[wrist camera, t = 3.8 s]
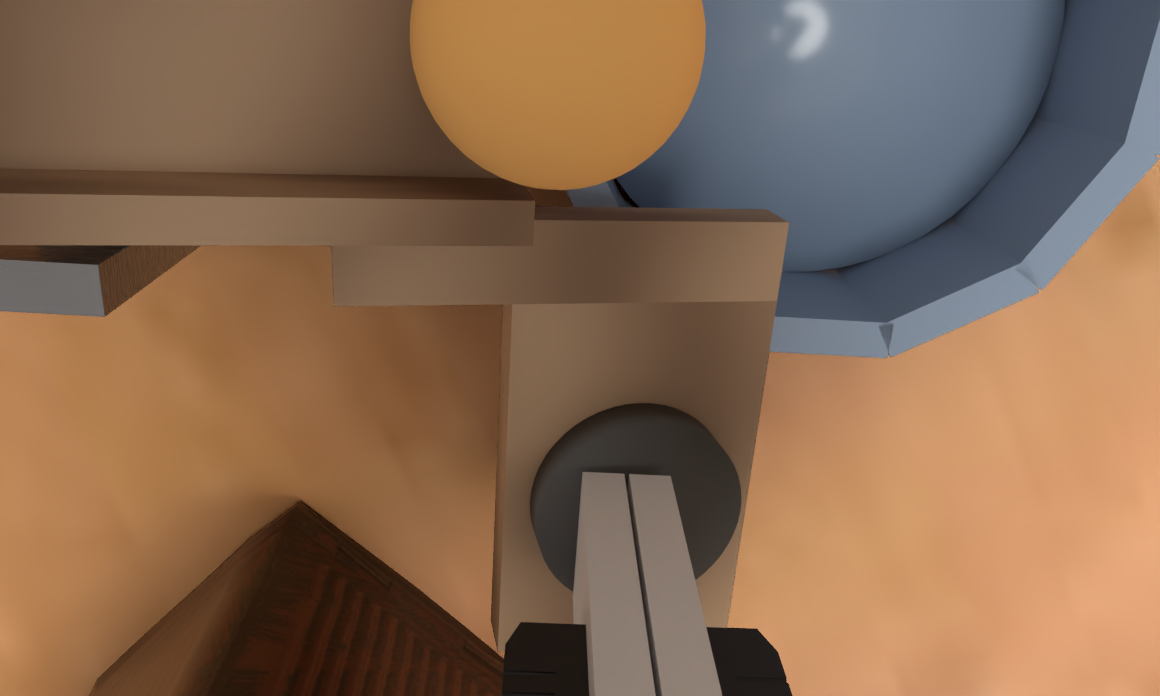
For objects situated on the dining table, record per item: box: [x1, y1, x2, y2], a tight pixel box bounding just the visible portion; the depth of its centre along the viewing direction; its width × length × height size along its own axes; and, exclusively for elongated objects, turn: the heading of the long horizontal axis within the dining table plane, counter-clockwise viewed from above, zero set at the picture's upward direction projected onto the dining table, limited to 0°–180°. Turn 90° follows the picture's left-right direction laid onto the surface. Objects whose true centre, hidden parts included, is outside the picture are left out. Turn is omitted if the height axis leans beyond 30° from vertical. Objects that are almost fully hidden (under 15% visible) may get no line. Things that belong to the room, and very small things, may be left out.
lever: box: [0, 0, 789, 652], centre depth 14 cm, size 22×15×4 cm
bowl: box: [566, 0, 1160, 358], centre depth 19 cm, size 13×13×4 cm
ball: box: [410, 0, 706, 190], centre depth 13 cm, size 4×4×4 cm
